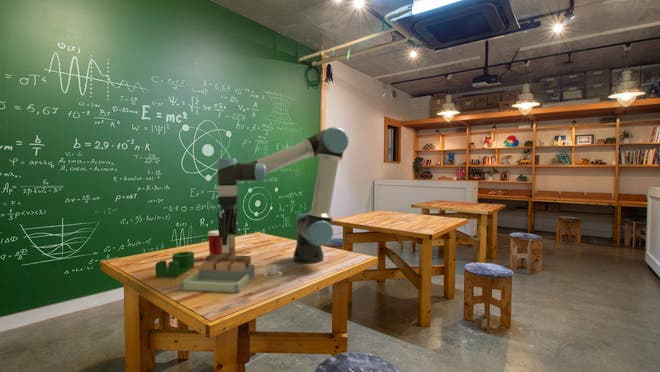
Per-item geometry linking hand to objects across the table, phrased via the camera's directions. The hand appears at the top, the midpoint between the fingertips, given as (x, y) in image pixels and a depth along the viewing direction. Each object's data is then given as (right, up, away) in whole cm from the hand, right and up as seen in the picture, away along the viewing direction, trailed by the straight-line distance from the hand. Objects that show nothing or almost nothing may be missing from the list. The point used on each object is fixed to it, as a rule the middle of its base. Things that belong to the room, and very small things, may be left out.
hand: (228, 250), depth 135 cm
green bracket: (-25, -11, +8) cm, 28 cm away
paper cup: (-14, -10, +27) cm, 32 cm away
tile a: (+6, -7, -5) cm, 10 cm away
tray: (-1, -11, -11) cm, 16 cm away
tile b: (0, -6, -4) cm, 8 cm away
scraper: (0, -5, 0) cm, 5 cm away
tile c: (-6, -6, -3) cm, 10 cm away
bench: (0, -11, -1) cm, 11 cm away
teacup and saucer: (+20, -11, +5) cm, 24 cm away
